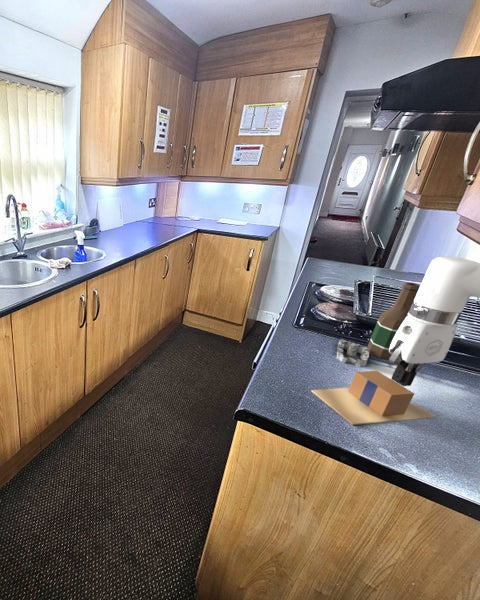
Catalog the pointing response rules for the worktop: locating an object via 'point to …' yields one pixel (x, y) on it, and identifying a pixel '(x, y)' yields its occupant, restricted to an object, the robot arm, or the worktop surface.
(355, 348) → the egg carton
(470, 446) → the worktop surface
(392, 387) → the box
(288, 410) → the worktop surface
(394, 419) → the board
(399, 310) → the beer bottle
